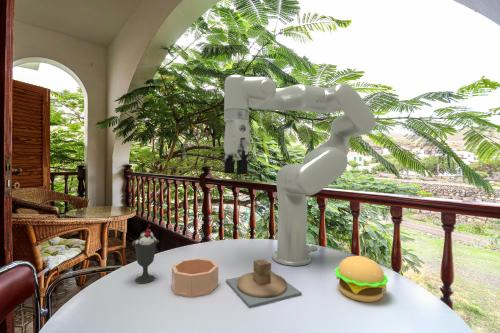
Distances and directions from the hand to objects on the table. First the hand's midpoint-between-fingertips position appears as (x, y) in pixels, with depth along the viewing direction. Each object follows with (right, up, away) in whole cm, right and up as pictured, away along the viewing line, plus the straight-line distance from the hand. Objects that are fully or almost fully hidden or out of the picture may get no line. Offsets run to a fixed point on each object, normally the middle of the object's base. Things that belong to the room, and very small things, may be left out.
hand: (235, 173), depth 79 cm
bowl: (-9, -28, -13) cm, 33 cm away
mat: (+7, -28, -14) cm, 33 cm away
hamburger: (+32, -29, -15) cm, 46 cm away
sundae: (-23, -28, -10) cm, 38 cm away
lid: (+7, -28, -14) cm, 32 cm away
